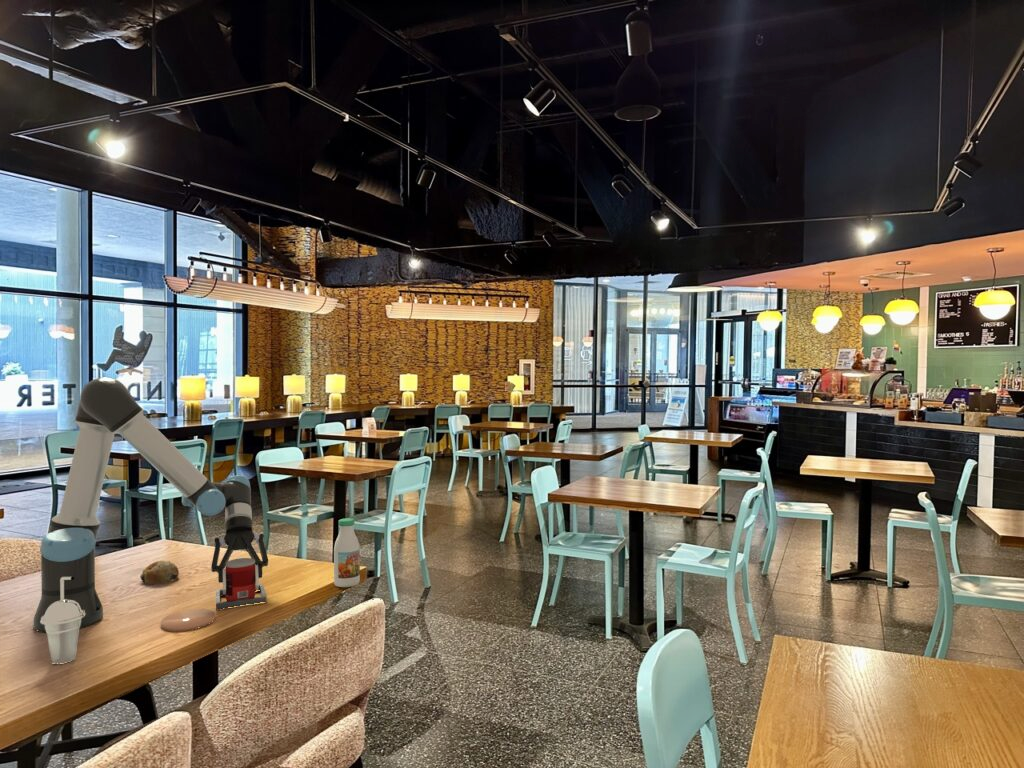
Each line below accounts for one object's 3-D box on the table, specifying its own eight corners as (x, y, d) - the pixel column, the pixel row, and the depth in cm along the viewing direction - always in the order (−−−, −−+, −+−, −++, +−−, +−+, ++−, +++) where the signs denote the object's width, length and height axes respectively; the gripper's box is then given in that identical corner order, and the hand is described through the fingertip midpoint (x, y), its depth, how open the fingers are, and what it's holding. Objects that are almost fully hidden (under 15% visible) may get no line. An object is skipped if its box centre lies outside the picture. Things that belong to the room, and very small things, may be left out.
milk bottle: (329, 586, 201) (329, 521, 201) (341, 579, 209) (341, 516, 208) (352, 588, 199) (352, 522, 199) (364, 581, 207) (363, 517, 207)
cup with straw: (87, 650, 155) (86, 565, 155) (83, 665, 147) (83, 575, 147) (43, 657, 151) (42, 570, 151) (37, 673, 143) (36, 581, 143)
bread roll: (161, 597, 203) (171, 574, 203) (131, 583, 203) (141, 559, 203) (178, 587, 213) (188, 564, 213) (149, 573, 213) (159, 551, 213)
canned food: (261, 596, 193) (260, 558, 192) (242, 605, 185) (242, 566, 185) (238, 594, 195) (238, 556, 195) (219, 603, 187) (219, 564, 187)
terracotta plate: (180, 635, 164) (180, 631, 164) (149, 624, 171) (149, 621, 171) (226, 618, 175) (226, 614, 175) (196, 609, 182) (196, 606, 182)
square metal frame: (266, 603, 187) (266, 597, 187) (215, 610, 181) (215, 603, 181) (263, 589, 198) (263, 583, 198) (215, 595, 193) (215, 589, 193)
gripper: (274, 525, 208) (279, 591, 193) (201, 531, 199) (200, 601, 185) (275, 511, 203) (280, 578, 188) (200, 517, 194) (200, 588, 180)
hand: (241, 589), depth 187 cm, fingers closed on canned food, 8 cm apart
